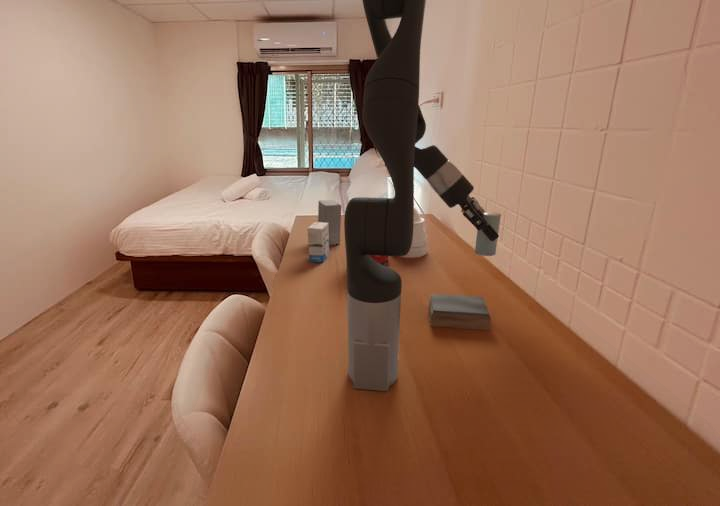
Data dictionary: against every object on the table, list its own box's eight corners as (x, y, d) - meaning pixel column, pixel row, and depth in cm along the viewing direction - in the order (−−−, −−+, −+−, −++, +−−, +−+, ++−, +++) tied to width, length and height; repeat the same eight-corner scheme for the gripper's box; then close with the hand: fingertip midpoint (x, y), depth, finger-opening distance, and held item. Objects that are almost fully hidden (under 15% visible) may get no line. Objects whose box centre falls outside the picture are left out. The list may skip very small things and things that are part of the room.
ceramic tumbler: (497, 256, 91) (503, 216, 87) (476, 255, 91) (481, 215, 88) (493, 249, 95) (498, 211, 92) (473, 248, 96) (477, 210, 93)
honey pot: (426, 258, 126) (430, 206, 120) (388, 256, 128) (390, 205, 122) (426, 246, 138) (429, 198, 132) (391, 244, 140) (393, 197, 134)
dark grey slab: (488, 330, 84) (491, 314, 82) (430, 326, 85) (431, 310, 84) (481, 310, 92) (483, 296, 91) (428, 307, 94) (429, 293, 92)
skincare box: (317, 240, 144) (315, 200, 139) (334, 238, 147) (333, 198, 142) (324, 247, 137) (323, 205, 132) (342, 244, 140) (341, 203, 135)
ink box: (322, 263, 122) (321, 229, 118) (308, 262, 123) (306, 228, 119) (330, 254, 130) (329, 222, 126) (316, 253, 131) (315, 221, 127)
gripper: (460, 177, 83) (510, 234, 83) (463, 170, 95) (506, 219, 96) (434, 199, 86) (482, 254, 87) (440, 189, 99) (482, 236, 99)
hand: (495, 235), depth 91 cm, fingers closed on ceramic tumbler, 5 cm apart
